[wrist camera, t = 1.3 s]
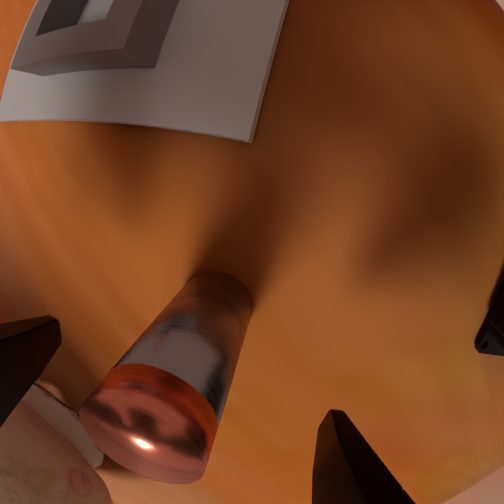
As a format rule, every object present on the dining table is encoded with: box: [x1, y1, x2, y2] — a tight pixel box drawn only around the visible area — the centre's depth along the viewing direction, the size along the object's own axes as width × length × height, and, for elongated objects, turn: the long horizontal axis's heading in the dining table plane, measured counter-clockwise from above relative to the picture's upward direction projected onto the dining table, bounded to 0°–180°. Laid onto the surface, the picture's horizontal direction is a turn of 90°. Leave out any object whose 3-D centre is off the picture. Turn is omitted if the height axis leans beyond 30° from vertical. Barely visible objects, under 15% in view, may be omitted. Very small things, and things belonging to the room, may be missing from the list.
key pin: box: [79, 271, 252, 484], centre depth 9 cm, size 3×3×8 cm
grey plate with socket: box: [0, 0, 290, 144], centre depth 8 cm, size 16×12×4 cm
